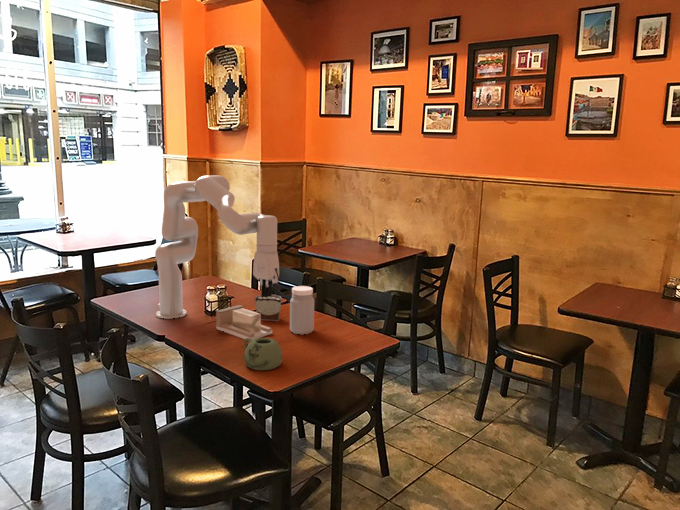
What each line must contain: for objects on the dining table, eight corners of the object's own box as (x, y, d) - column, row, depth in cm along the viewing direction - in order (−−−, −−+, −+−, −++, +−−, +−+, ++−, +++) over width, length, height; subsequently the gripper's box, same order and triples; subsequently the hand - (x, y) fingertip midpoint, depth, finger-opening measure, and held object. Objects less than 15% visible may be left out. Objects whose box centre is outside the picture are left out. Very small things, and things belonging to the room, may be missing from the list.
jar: (285, 333, 214) (286, 289, 211) (295, 326, 223) (296, 284, 220) (308, 336, 211) (308, 292, 208) (317, 329, 220) (318, 286, 217)
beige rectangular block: (250, 333, 209) (250, 316, 208) (232, 327, 216) (232, 310, 214) (260, 330, 213) (260, 313, 211) (242, 324, 220) (242, 308, 218)
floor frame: (216, 328, 217) (216, 310, 216) (239, 322, 226) (239, 304, 225) (249, 340, 205) (249, 321, 203) (272, 333, 214) (272, 315, 212)
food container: (285, 316, 236) (285, 294, 234) (282, 321, 230) (282, 298, 228) (257, 315, 237) (257, 293, 235) (253, 319, 231) (254, 296, 229)
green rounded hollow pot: (290, 364, 184) (290, 340, 182) (263, 375, 173) (263, 350, 172) (257, 352, 193) (257, 329, 191) (229, 363, 183) (229, 338, 181)
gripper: (245, 247, 203) (245, 294, 206) (273, 252, 193) (273, 302, 196) (260, 244, 208) (260, 290, 212) (288, 250, 199) (287, 298, 202)
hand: (266, 296), depth 204 cm, fingers closed
